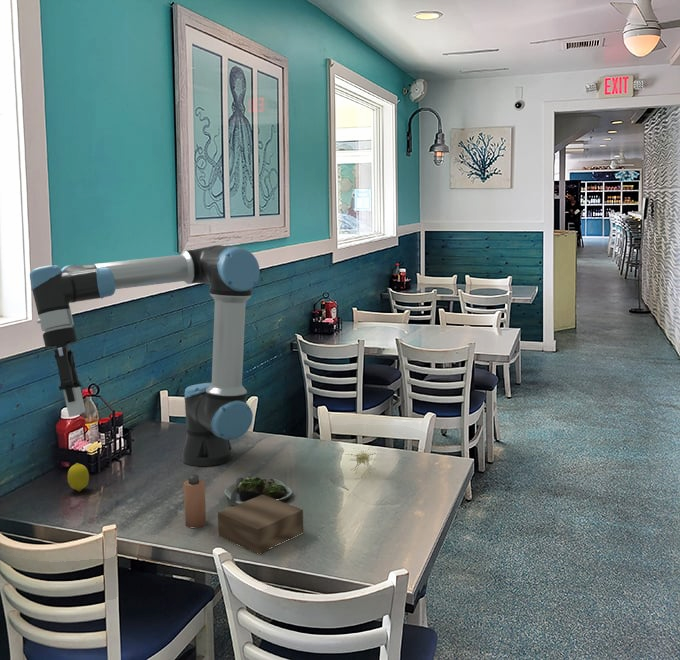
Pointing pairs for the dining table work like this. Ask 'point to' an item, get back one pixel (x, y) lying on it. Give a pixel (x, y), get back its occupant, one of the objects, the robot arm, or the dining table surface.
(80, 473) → the lemon
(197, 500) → the sauce bottle
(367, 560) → the dining table surface
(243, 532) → the walnut block
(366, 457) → the beige splat shape
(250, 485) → the salad plate
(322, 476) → the dining table surface
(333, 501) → the dining table surface
